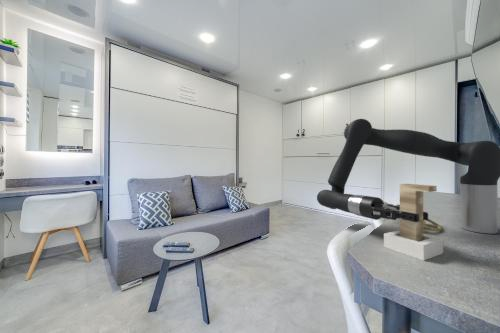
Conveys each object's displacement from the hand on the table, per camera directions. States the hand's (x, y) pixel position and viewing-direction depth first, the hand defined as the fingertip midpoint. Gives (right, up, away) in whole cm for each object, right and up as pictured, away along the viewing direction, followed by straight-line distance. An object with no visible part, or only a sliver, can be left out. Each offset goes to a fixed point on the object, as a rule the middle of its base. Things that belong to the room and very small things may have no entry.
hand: (422, 217), depth 56 cm
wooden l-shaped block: (-1, -9, +1) cm, 9 cm away
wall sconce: (+22, -9, +18) cm, 30 cm away
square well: (-1, -10, +2) cm, 10 cm away
